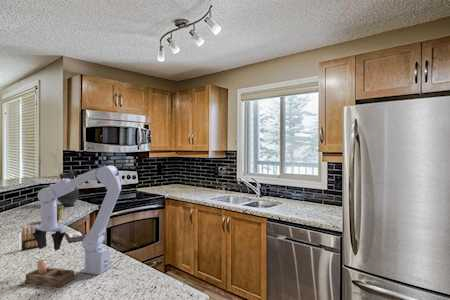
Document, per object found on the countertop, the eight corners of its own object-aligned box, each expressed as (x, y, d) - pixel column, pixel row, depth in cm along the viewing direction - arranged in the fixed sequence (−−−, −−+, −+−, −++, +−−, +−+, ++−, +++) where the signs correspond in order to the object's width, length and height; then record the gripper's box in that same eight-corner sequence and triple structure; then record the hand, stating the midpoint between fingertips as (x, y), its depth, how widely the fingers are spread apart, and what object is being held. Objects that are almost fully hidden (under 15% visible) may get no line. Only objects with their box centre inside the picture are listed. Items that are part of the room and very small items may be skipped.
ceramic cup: (66, 219, 208) (66, 205, 208) (57, 223, 198) (57, 208, 198) (49, 219, 210) (49, 205, 210) (39, 223, 200) (39, 208, 200)
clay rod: (48, 274, 118) (47, 259, 118) (43, 278, 115) (43, 262, 115) (40, 274, 118) (40, 259, 118) (35, 278, 115) (35, 262, 115)
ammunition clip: (46, 245, 156) (45, 222, 155) (46, 246, 154) (46, 223, 154) (21, 250, 149) (20, 226, 148) (21, 251, 147) (21, 227, 147)
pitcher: (51, 207, 248) (50, 172, 247) (68, 203, 268) (68, 169, 268) (70, 208, 245) (69, 172, 244) (86, 203, 265) (85, 170, 265)
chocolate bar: (69, 242, 159) (65, 233, 173) (69, 243, 159) (65, 235, 173) (87, 238, 164) (82, 231, 179) (87, 240, 164) (82, 232, 179)
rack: (75, 277, 117) (75, 270, 117) (59, 287, 109) (59, 279, 109) (42, 273, 121) (42, 266, 121) (24, 282, 113) (24, 274, 113)
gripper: (71, 214, 125) (71, 246, 125) (42, 213, 128) (43, 244, 129) (57, 219, 118) (58, 252, 118) (28, 217, 121) (28, 250, 122)
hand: (49, 248), depth 123 cm, fingers open, 7 cm apart
